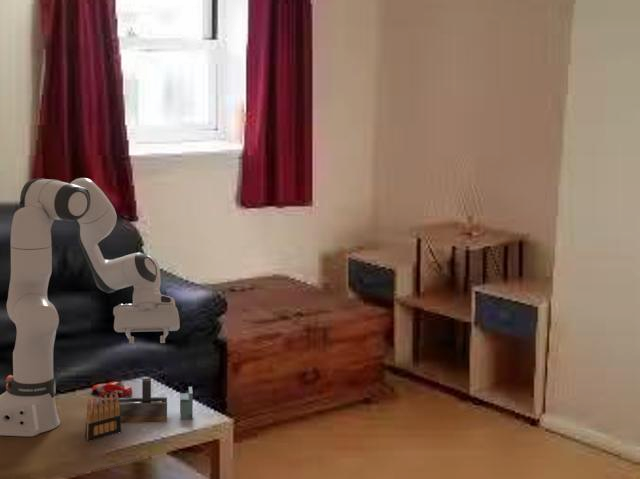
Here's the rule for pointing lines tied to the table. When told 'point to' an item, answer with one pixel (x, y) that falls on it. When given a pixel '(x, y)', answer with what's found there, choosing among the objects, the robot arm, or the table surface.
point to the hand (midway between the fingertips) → (147, 342)
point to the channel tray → (141, 410)
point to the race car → (112, 389)
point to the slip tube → (145, 392)
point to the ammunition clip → (103, 418)
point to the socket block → (186, 404)
